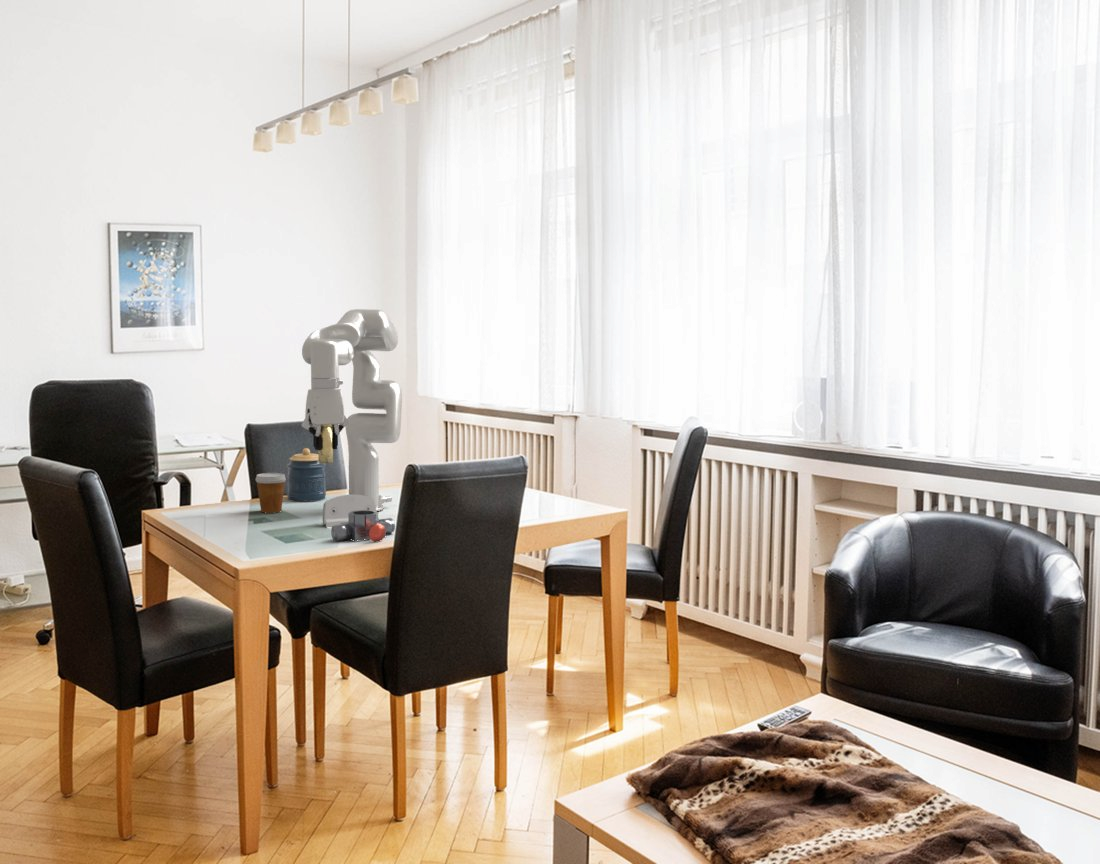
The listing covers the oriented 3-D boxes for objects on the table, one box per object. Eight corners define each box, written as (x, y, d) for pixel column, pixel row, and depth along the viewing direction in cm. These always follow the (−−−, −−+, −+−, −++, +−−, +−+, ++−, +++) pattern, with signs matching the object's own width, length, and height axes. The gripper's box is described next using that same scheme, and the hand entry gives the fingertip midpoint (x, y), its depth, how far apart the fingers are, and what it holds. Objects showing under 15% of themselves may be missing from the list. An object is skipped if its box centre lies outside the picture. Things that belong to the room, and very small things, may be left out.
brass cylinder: (329, 460, 281) (328, 418, 279) (335, 462, 278) (335, 420, 276) (316, 461, 278) (315, 419, 277) (322, 463, 275) (321, 420, 274)
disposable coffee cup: (258, 515, 309) (257, 477, 308) (253, 510, 318) (253, 473, 317) (289, 513, 313) (288, 476, 312) (284, 508, 322) (283, 472, 321)
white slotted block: (325, 528, 292) (322, 494, 294) (322, 530, 296) (319, 497, 298) (380, 523, 299) (377, 491, 301) (376, 526, 303) (373, 494, 305)
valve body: (383, 530, 289) (383, 507, 288) (405, 537, 280) (405, 513, 279) (328, 538, 277) (327, 514, 276) (349, 546, 268) (348, 520, 267)
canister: (333, 497, 344) (332, 447, 342) (313, 503, 332) (312, 451, 330) (300, 494, 348) (300, 445, 346) (279, 500, 336) (279, 449, 334)
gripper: (345, 382, 284) (346, 446, 286) (291, 384, 273) (292, 450, 275) (358, 384, 278) (358, 448, 280) (302, 386, 268) (303, 453, 270)
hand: (325, 448), depth 278 cm, fingers closed on brass cylinder, 4 cm apart
